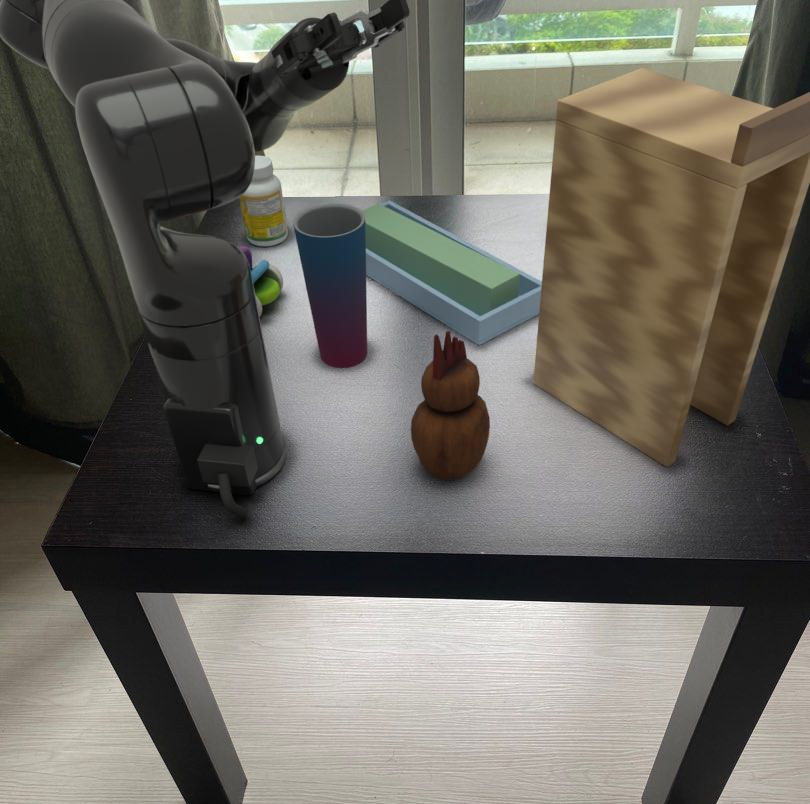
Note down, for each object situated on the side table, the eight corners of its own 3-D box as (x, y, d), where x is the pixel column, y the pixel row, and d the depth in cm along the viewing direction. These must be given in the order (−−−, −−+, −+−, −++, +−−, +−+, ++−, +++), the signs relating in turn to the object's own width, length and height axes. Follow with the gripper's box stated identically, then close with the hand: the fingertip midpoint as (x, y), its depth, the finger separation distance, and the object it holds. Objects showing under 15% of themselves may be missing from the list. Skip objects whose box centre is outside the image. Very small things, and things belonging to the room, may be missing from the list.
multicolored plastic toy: (224, 280, 102) (212, 222, 96) (296, 293, 99) (288, 234, 94) (188, 317, 96) (172, 258, 91) (263, 332, 94) (251, 272, 88)
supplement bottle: (283, 248, 106) (271, 172, 99) (242, 247, 107) (227, 171, 100) (292, 228, 110) (282, 153, 103) (253, 226, 111) (239, 152, 104)
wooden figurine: (434, 499, 74) (432, 355, 64) (403, 461, 78) (395, 320, 67) (499, 471, 77) (507, 328, 66) (465, 436, 80) (467, 295, 69)
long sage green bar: (353, 245, 105) (350, 214, 102) (380, 233, 107) (378, 202, 104) (490, 321, 92) (491, 288, 90) (518, 306, 94) (520, 273, 91)
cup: (367, 375, 87) (355, 239, 76) (304, 370, 88) (283, 234, 78) (382, 338, 92) (372, 204, 81) (321, 334, 93) (304, 201, 82)
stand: (532, 383, 85) (560, 64, 64) (600, 345, 89) (647, 33, 68) (667, 468, 76) (752, 128, 55) (735, 420, 80) (839, 87, 59)
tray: (325, 249, 106) (322, 227, 104) (390, 222, 110) (389, 200, 108) (478, 345, 90) (479, 321, 88) (547, 309, 95) (550, 285, 92)
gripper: (238, 47, 95) (298, -13, 81) (340, 17, 100) (413, -43, 87) (265, 117, 97) (328, 71, 84) (364, 84, 103) (437, 36, 89)
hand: (371, 13), depth 85 cm, fingers open, 8 cm apart
